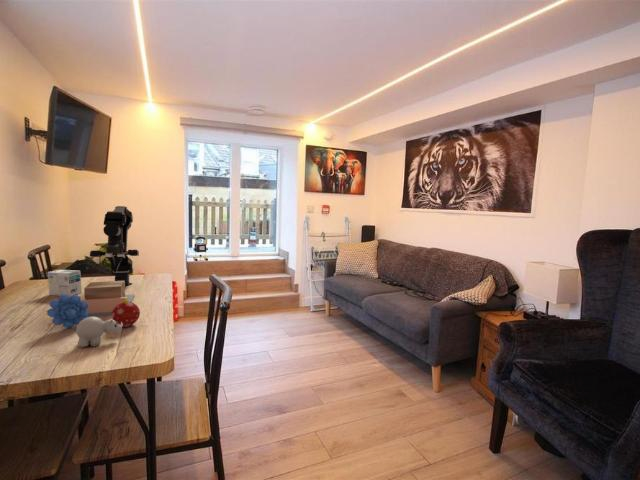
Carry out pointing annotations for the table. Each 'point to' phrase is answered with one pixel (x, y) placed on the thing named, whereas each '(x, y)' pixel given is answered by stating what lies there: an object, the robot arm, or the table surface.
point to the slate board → (129, 298)
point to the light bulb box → (64, 282)
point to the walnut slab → (104, 290)
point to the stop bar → (103, 304)
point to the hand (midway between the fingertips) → (115, 272)
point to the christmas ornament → (126, 313)
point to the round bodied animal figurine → (95, 330)
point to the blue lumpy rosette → (68, 310)
